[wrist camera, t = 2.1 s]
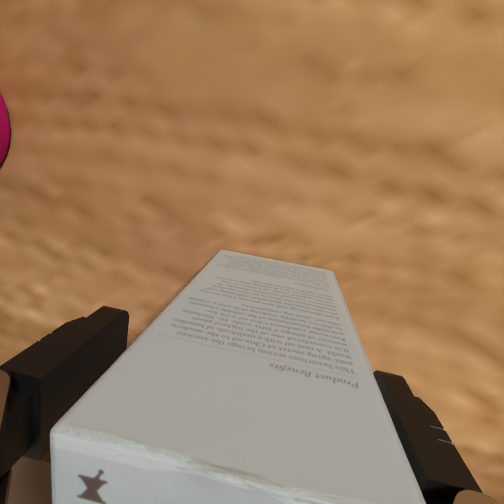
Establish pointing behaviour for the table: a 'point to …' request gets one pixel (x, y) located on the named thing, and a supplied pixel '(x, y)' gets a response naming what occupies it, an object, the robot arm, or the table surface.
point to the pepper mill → (4, 129)
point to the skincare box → (237, 402)
